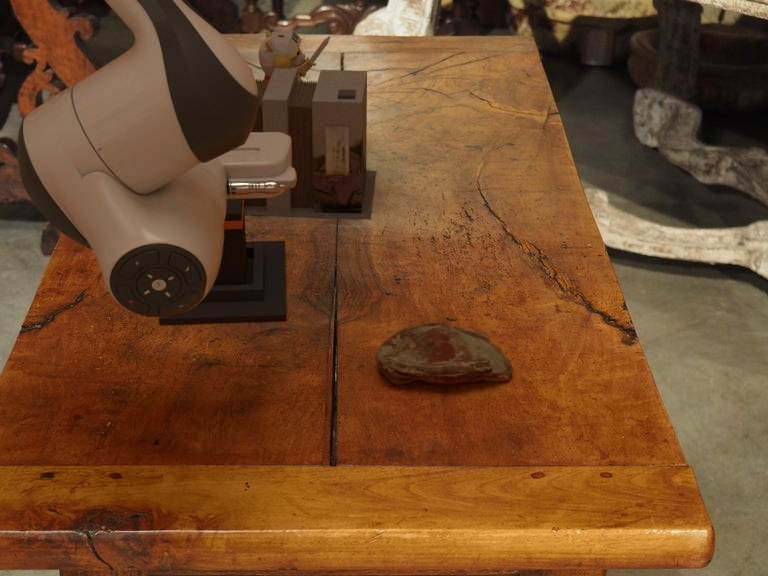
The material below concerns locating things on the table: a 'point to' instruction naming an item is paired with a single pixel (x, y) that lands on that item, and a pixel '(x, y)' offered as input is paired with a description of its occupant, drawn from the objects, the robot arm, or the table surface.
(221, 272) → the black orange striped block
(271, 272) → the base pad
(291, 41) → the figurine
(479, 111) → the table surface
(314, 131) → the bookend
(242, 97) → the robot arm
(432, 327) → the stone
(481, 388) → the table surface
